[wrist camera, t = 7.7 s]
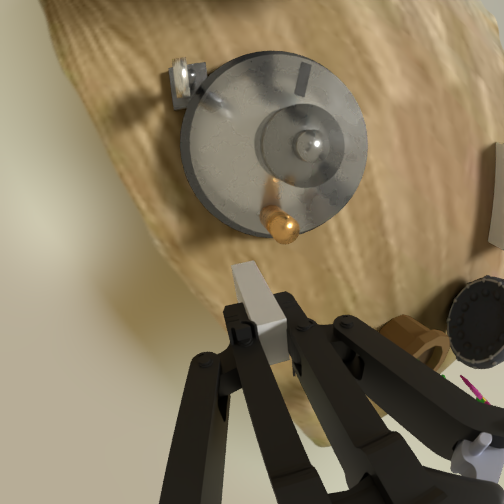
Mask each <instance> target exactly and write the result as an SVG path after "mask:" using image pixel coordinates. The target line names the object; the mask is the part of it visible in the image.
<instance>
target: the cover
mask: <svg viewBox="0 0 504 504" xmlns="http://www.w3.org/2000/svg"><path fill="white" fill-rule="evenodd" d="M254 148H255V154H256V157H257V159H258V161H259V163H260V165H261V166H262V168H263V169H264V170H265V171H266V172H267V173H268V174H269V175H271V176H272V177H274V178H276V179H278V180H281V181H283V182H285V183H287V184H289V185H292V186H295V187H299V188H312V187H316V186H319V185H322V184H323V183H325V182H327V181H328V180H330V179H331V178H332V177H333V176H334V175H335V173H336V172H337V171H338V169H339V167H340V165H341V163H342V160H343V157H344V150H345V143H344V137H343V133H342V130H341V128H340V126H339V124H338V122H337V121H336V120H335V118H334V117H333V116H332V115H331V114H330V113H328V112H327V111H326V110H324V109H323V108H321V107H318V106H316V105H312V104H295V105H291V106H288V107H285V108H281V109H278V110H276V111H273V112H272V113H270V114H269V115H268V116H266V117H265V118H264V119H263V120H262V122H261V123H260V125H259V127H258V129H257V131H256V134H255V140H254Z"/></svg>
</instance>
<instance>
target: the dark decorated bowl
mask: <svg viewBox="0 0 504 504" xmlns="http://www.w3.org/2000/svg"><path fill="white" fill-rule="evenodd" d="M447 336H448V337H449V341H450V347H451V349H452V351H453V353H454V354H455V356H456V359H457V360H458V361H461V362H462V363H464V364H465V365H467V366H469V367H472V368H474V369H487V368H492V367H494V366H496V365H498V364H499V363H501V362H503V361H504V279H501V278H497V277H490V276H489V275H486V276H484V277H483V278H479V279H477V280H475V281H473V282H469V283H467V285H466V287H465V288H463V289H462V291H461V292H460V293H459V294H458V295H457V297H455V298H454V300H453V304H452V306H451V309H450V312H449V316H448V318H447Z"/></svg>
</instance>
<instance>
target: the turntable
mask: <svg viewBox="0 0 504 504" xmlns="http://www.w3.org/2000/svg"><path fill="white" fill-rule="evenodd" d="M295 104H312V105H316V106H318V107H321V108H323V109H324V110H326V111H327V112H328V113H330V114H331V115H332V116H333V117H334V118H335V120H336V121H337V122H338V124H339V126H340V128H341V130H342V133H343V137H344V143H345V150H344V157H343V160H342V163H341V165H340V167H339V169H338V171H337V172H336V173H335V175H334V176H333V177H332V178H331V179H330V180H328V181H327V182H325V183H323V184H322V185H319V186H316V187H312V188H299V187H295V186H292V185H289V184H287V183H285V182H283V181H281V180H278V179H276V178H274V177H272V176H271V175H269V174H268V173H267V172H266V171H265V170H264V169H263V168H262V166H261V165H260V163H259V161H258V159H257V157H256V154H255V148H254V140H255V134H256V131H257V129H258V127H259V125H260V123H261V122H262V120H263V119H264V118H265V117H266V116H268V115H269V114H270V113H272V112H273V111H276V110H278V109H281V108H285V107H288V106H291V105H295ZM367 150H368V141H367V131H366V125H365V122H364V118H363V115H362V112H361V110H360V108H359V106H358V103H357V102H356V100H355V98H354V97H353V95H352V93H351V92H350V91H349V90H348V88H347V87H346V86H345V85H344V84H343V82H342V81H341V80H340V79H339V78H338V77H336V76H335V75H334V74H333V73H331V72H330V71H329V70H327V69H326V68H324V67H322V66H321V65H319V64H317V63H315V62H312V61H310V60H308V59H304V58H301V57H297V56H291V55H284V54H271V55H263V56H258V57H254V58H251V59H248V60H245V61H243V62H241V63H238V64H236V65H235V66H233V67H231V68H230V69H228V70H227V71H225V72H224V73H223V74H222V75H220V76H219V77H218V78H217V79H216V80H215V81H214V82H213V83H212V84H211V86H210V87H209V88H208V89H207V91H206V92H205V94H204V95H203V97H202V98H201V100H200V102H199V104H198V107H197V109H196V111H195V114H194V118H193V121H192V125H191V132H190V154H191V161H192V165H193V168H194V172H195V175H196V177H197V180H198V182H199V184H200V186H201V188H202V190H203V191H204V193H205V194H206V196H207V198H208V199H209V200H210V201H211V202H212V204H213V205H214V206H215V207H216V208H217V209H218V210H219V211H220V212H221V213H222V214H223V215H225V216H226V217H228V218H229V219H230V220H232V221H233V222H235V223H237V224H239V225H241V226H243V227H245V228H247V229H250V230H253V231H256V232H260V233H265V234H271V235H272V237H273V238H274V239H275V240H276V241H277V242H278V243H280V244H289V243H292V242H293V241H295V240H296V238H297V237H298V235H299V233H300V232H303V231H307V230H310V229H312V228H315V227H317V226H319V225H321V224H323V223H324V222H326V221H328V220H329V219H331V218H332V217H333V216H334V215H336V214H337V213H338V212H339V211H340V210H341V209H342V208H343V207H344V206H345V205H346V204H347V202H348V201H349V200H350V199H351V197H352V196H353V194H354V193H355V191H356V189H357V187H358V185H359V183H360V181H361V179H362V176H363V173H364V169H365V165H366V160H367Z"/></svg>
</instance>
